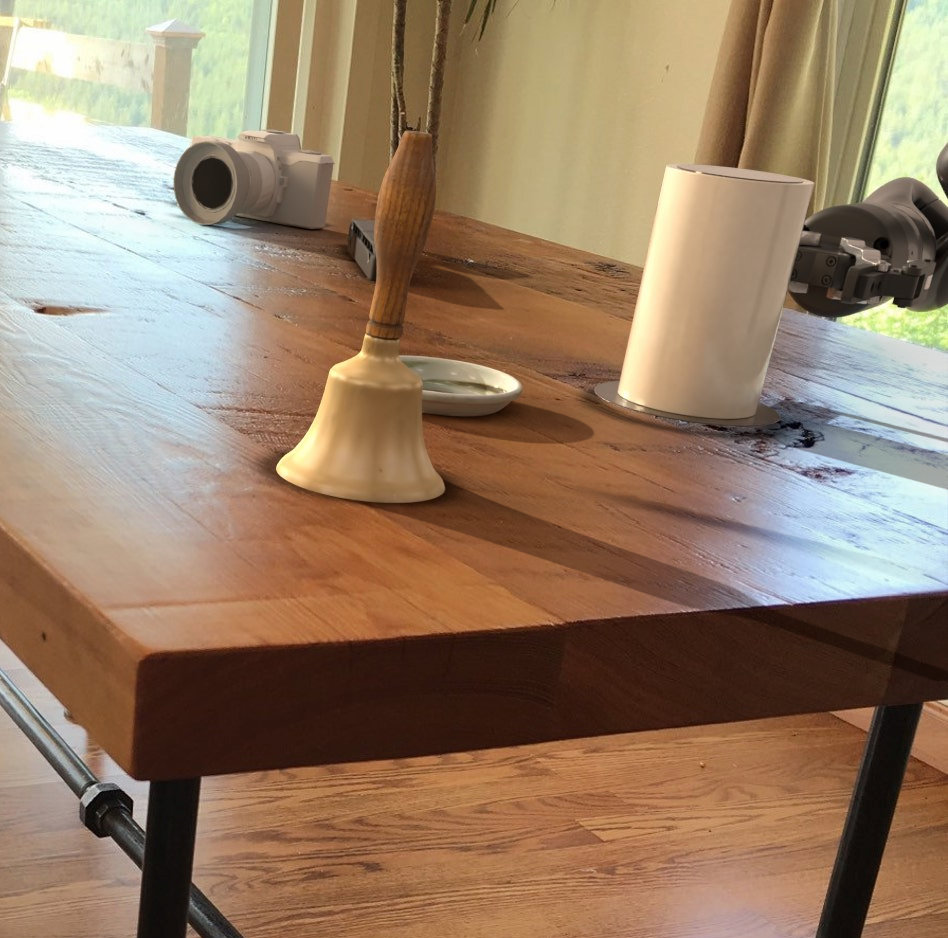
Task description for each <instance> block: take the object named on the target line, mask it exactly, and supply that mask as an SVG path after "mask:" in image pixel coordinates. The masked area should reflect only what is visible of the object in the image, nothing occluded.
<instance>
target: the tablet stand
mask: <svg viewBox="0 0 948 938" xmlns="http://www.w3.org/2000/svg"><path fill="white" fill-rule="evenodd" d="M374 227H375V220H368V219H357V218H352V219H351V220H350V223H349V227H348V234H347V248H346V249H347V253H348V254H349V256H350V257H351V258H352V259H353V260H355V262H356V263H357V265H358V267H359V268H360V269H361V271H362V272H363V273H364V274H365V276H366V277H367V279H368V280H369V281H372V282H376V278H377V260H376V253H375V242H374Z"/></svg>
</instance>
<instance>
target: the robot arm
mask: <svg viewBox="0 0 948 938" xmlns="http://www.w3.org/2000/svg"><path fill="white" fill-rule="evenodd" d="M935 172H936V176H937V180H938V183H939V185H940V187H941V189H942V191H943V193H944V195H945V197H946V199H947V200H948V142H947V143H946V144H945V145H944V146H943V148H942V149H941V151H940V152H939V154H938V157H937V159H936V163H935ZM787 293H788V294H789V295H790V297H791V299H792V300H793V301H794V302H795V304H797V305H798V306H799V307H800V308H802V309H803V310H804V311H806V312H808V313H810V314H812V315H814V316H817V317H820V318H821V317H822V318H828V319H836V318H844V317H848V316H851V315H855V314H858V313H862V312H865V311H868V310H870V309H874V308H877V307H880V306H881V305H883V304H885V303H887V302H889V301H891V300H892V303H891V305H894V306H896V307H897V308H900V309H906V310H908V311H910V312H914V313H915V312H916V313H929V312H933V311H936V310H939V309H941V308H944V307H945V306H947V305H948V206H947V204H945V202H943V200H941V199H940V197H939V196H938V195H937V194H936V193H935V191H933V190H932V189H931V188H930V187H929V186H928V185H926V184H925V183H924V182H923V181H920V180H918V179H917V178H914V177H910V176H902V177H901V176H900V177H897V178H894V179H892V180H890V181H889V180H888V181H887V182H886V183H884V184H883V185H881V186H879V187H878V188H876V189H875V190H874V191H873V192H872V193H870V194H869V195H868V196H867V197H866V198H865V199H864V200H863V201H862V202H854V203H847V204H840V205H834V206H829V207H827V208H823V209H821V210H819V211H817V212H815V213H813V214H812V215H810V216H808V217H806V220H805V224H804V228H803V232H802V236H801V239H800V243H799V247H798V251H797V255H796V259H795V263H794V267H793V271H792V275H791V279H790V283H789V287H788V291H787Z"/></svg>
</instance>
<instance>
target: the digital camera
mask: <svg viewBox="0 0 948 938" xmlns="http://www.w3.org/2000/svg"><path fill="white" fill-rule="evenodd" d="M334 165H335V162H334V160H333V156H332V155H329V154H325V153H322V151H319V150H312V149H302V146H301V140H300V136H299V134H296V133H290V132H289V131H281V130H278V129H261V130H245V131H242V132H240V133H239V134H238V135H237V139H234V138H228V137H220V136H213V135H212V136H211V135H194V136H193V137H192V138H191V140H190V144H189V147H188V148H186V149H185V150H184V151H183V153H182V154H181V155H180V157H179V159H178V161H177V163H176V166H175V169H174V172H173V173H174V174H173V193H174V198H175V200H176V205H177V207H178V208H179V209H180V211H181V213H182V214H183V215H184V216H185V217H186V218H187V219H188V220H189V221H190V222H191V221H192V222H193V223H195V224H198V225H202V226H204V225H208V226H209V225H221V224H225V223H226V222H229V221H230V220H232V219H233V218H234V217H235V216H238V217H243V218H248V219H252V220H258V221H264V222H269V223H274V224H280V225H285V226H291V227H296V228H301V229H308V230H319V229H321V230H322V229H324V228H326V224H327V214H328V208H329V202H330V201H329V200H330V192H331V187H332V186H331V185H332V177H333V170H334Z"/></svg>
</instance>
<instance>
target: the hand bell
mask: <svg viewBox="0 0 948 938" xmlns="http://www.w3.org/2000/svg"><path fill="white" fill-rule="evenodd" d="M435 169H436V168H435V162H434V153H433V134H432V133H429V132H424V131H416V130H405V131H404V132H403V134H402V136H401V139H400V141H399V144H398V146H397V149H396V151H395V153H394V155H393V157H392V159H391V161H390V163H389V165H388V167H387V169H386V171H385V174H384V175H383V179H382V182H381V185H380V188H379V192H378V197H377V201H376V208H375V217H374V221H375V227H374V242H375V253H376V260H377V278H376V281H375V287H374V292H373V295H372V301H371V305H370V309H369V310H370V311H369V315H368V319H369V320H368V321H367V324H366V326H365V327H366V328H365V334H364V337H363V342H362V346H361V350H360V352H359V353H358V354H357V355H355V356H353V357H351V358H349V359H347V360H344V361H342V362H339V363H336V364H334V365H333V366H332V367H331V368H330V370H329V372H328V376H327V380H326V384H325V386H324V387H325V388H324V391H323V395H322V397H321V401H320V405H319V407H318V410H317V412H316V415H315V417H314V419H313V421H312V423H311V425H310V427H309V429H308V431H307V432H306V433H305V435H304V437H303V438H302V439H301V440H300V442H299V443H298V444H297V445H296V446H295V447H294V449H292V450H291V451H289V452H287V453H286V454H285V455H283V457H281V459H280V460H279V461H278V463H277V465H276V468H275V469H276V472H277V474H278V475H279V476H280V477H281V478H282V479H284V480H285V481H286V482H288V483H291V484H292V485H295V486H296V487H300V488H303V489H305V490H308V491H311V492H314V493H318V494H322V495H326V496H331V497H335V498H341V499H347V500H351V501H360V502H370V503H385V504H387V503H388V504H405V503H417V502H424V501H430V500H433V499H436V498H438V497H440V496H442V495H443V494H444V493H445V491H446V487H445V483H444V480H443V478H442V477H441V475H440V473H438V472H437V471H436V469H435V468H434V466H433V464H432V461H431V458H430V457H429V454H428V451H427V448H426V443H425V438H424V431H423V413H422V391H423V390H424V389H423V383H422V379H421V378H420V377H419V375H418V374H416V373H415V372H413V371H412V370H410V369H409V368H408V367H407V366H406V365H405V364H404V363H403V362H402V361H401V360H400V358H399V356H400V345H401V340H400V338H401V337H402V336H403V334H404V325H403V324H404V322H405V318H406V310H407V302H408V296H409V295H408V294H409V288H410V284H411V279H412V276H413V274H414V271H415V268H416V266H417V264H418V262H419V260H420V258H421V256H422V253H423V251H424V249H425V246H426V244H427V240H428V237H429V234H430V231H431V227H432V223H433V219H434V213H435V207H436V197H437V180H436V179H437V178H436V170H435Z"/></svg>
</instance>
